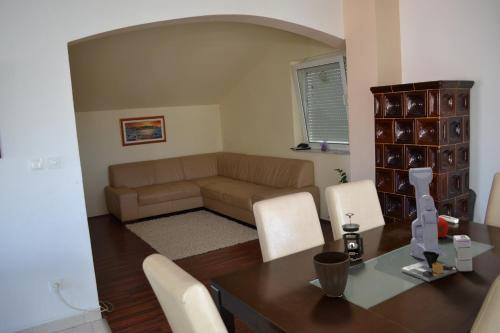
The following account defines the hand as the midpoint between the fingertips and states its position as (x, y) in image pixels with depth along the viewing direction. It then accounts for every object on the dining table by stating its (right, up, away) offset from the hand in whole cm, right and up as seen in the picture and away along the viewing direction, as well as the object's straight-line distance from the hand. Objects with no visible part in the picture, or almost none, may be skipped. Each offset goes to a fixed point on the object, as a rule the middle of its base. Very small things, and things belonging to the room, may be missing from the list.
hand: (432, 267), depth 180 cm
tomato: (+24, +5, +48) cm, 54 cm away
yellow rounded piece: (+1, -1, -2) cm, 3 cm away
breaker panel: (0, -2, +3) cm, 4 cm away
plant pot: (-45, -9, -10) cm, 47 cm away
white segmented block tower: (+15, -1, +2) cm, 15 cm away
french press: (-27, -2, +28) cm, 39 cm away
